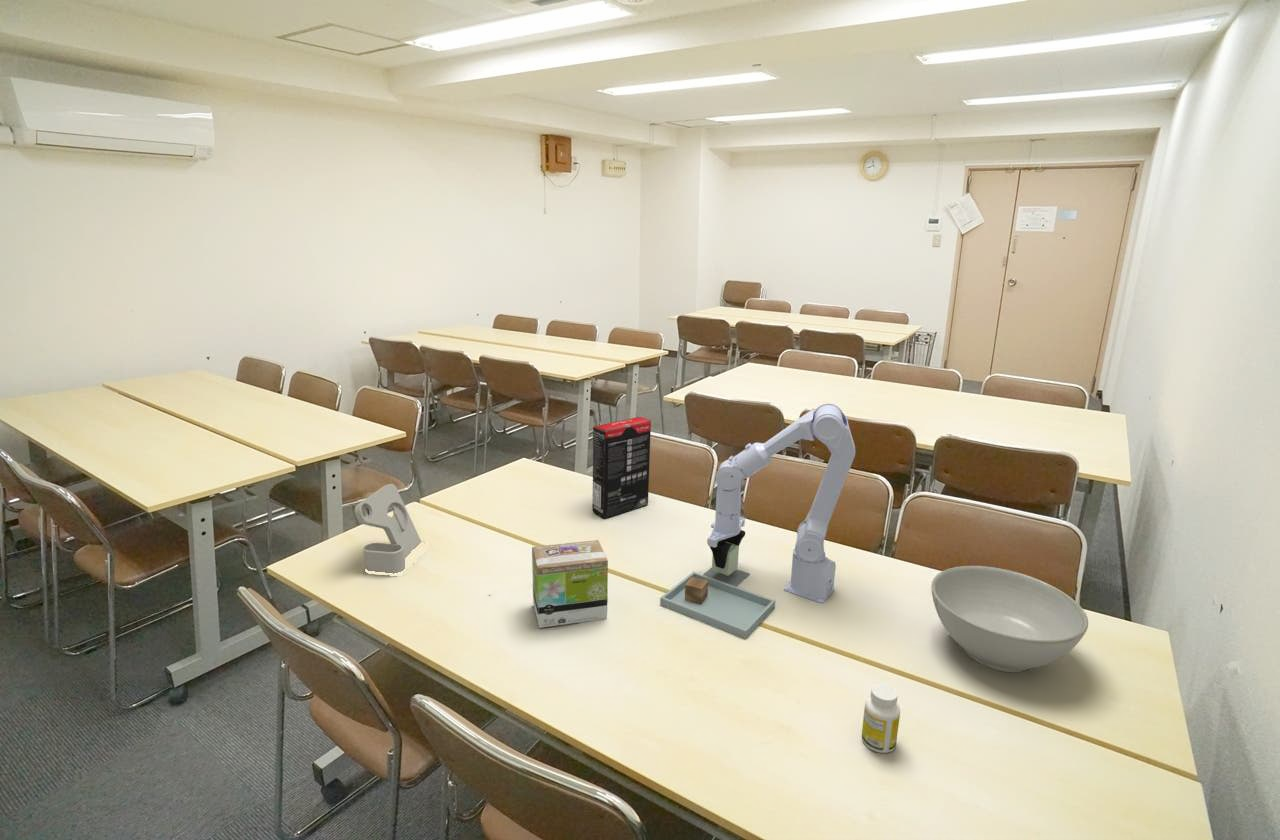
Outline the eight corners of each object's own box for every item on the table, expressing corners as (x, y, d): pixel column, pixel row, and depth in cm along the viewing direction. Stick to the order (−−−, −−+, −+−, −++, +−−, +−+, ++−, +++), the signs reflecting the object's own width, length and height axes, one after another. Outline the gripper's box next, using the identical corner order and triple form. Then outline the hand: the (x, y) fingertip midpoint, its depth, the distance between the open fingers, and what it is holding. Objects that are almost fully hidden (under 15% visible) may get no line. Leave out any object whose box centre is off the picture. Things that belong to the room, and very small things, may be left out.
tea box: (538, 630, 137) (535, 567, 132) (533, 605, 146) (530, 545, 142) (608, 620, 140) (608, 558, 136) (599, 595, 150) (598, 537, 145)
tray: (774, 608, 145) (775, 600, 144) (745, 639, 134) (746, 631, 133) (693, 579, 157) (693, 571, 156) (660, 605, 146) (660, 597, 145)
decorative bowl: (895, 628, 138) (902, 578, 135) (990, 604, 147) (999, 556, 144) (1003, 714, 114) (1015, 655, 110) (1109, 679, 123) (1123, 623, 120)
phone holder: (399, 578, 156) (392, 509, 151) (360, 574, 158) (351, 506, 153) (432, 544, 173) (427, 481, 168) (397, 541, 174) (390, 479, 169)
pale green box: (737, 568, 158) (738, 545, 156) (728, 575, 154) (729, 552, 153) (721, 562, 160) (722, 540, 159) (711, 569, 157) (712, 546, 155)
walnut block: (707, 596, 149) (708, 580, 148) (701, 604, 146) (701, 588, 145) (691, 591, 151) (691, 576, 150) (684, 600, 148) (685, 584, 146)
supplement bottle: (887, 729, 110) (894, 680, 108) (901, 754, 105) (908, 703, 102) (856, 729, 110) (862, 680, 107) (868, 754, 105) (874, 704, 102)
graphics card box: (636, 498, 203) (637, 414, 195) (651, 505, 198) (652, 419, 190) (591, 512, 193) (590, 424, 185) (605, 520, 188) (605, 430, 180)
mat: (749, 574, 159) (750, 573, 159) (732, 590, 152) (732, 589, 152) (717, 564, 164) (717, 562, 164) (699, 578, 157) (699, 577, 157)
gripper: (727, 496, 161) (725, 546, 165) (697, 516, 150) (695, 569, 153) (753, 503, 157) (750, 554, 161) (724, 525, 146) (721, 579, 149)
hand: (725, 562), depth 157 cm, fingers closed on pale green box, 5 cm apart
